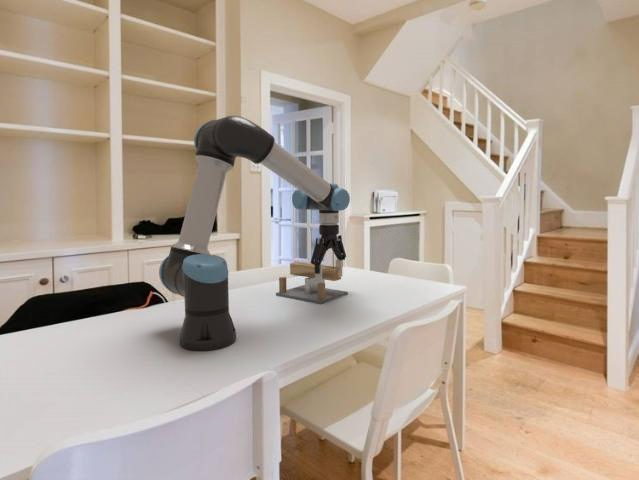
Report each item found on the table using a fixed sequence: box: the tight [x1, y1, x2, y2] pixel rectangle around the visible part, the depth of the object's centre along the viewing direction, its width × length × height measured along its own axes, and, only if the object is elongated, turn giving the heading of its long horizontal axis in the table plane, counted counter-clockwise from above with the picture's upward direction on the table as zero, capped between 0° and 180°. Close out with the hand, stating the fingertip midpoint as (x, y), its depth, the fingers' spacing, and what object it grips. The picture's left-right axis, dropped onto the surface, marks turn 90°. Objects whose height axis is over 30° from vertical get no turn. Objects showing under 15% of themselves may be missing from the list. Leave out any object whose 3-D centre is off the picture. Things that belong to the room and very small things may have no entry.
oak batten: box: [289, 261, 342, 282], centre depth 167 cm, size 4×22×4 cm, turn 53°
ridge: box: [304, 277, 326, 294], centre depth 168 cm, size 10×2×7 cm, turn 143°
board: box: [275, 276, 349, 305], centre depth 166 cm, size 18×22×7 cm
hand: (329, 278), depth 163 cm, fingers open, 13 cm apart
